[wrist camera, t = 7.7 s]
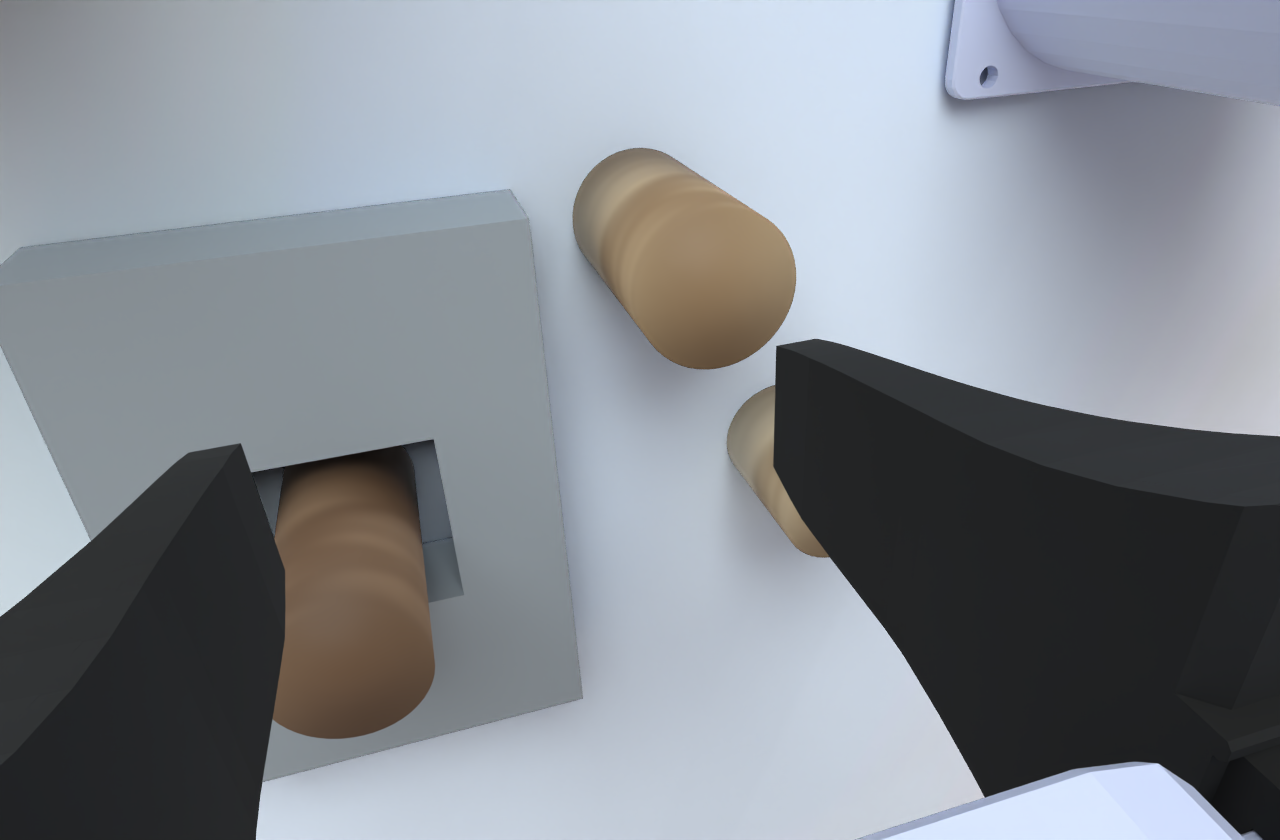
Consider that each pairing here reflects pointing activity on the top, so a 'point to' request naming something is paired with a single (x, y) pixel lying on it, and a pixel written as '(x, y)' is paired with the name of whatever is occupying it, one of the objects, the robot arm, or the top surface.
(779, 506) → the short dowel
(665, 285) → the mid dowel
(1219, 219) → the top surface
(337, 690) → the tall dowel
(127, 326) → the hole board
